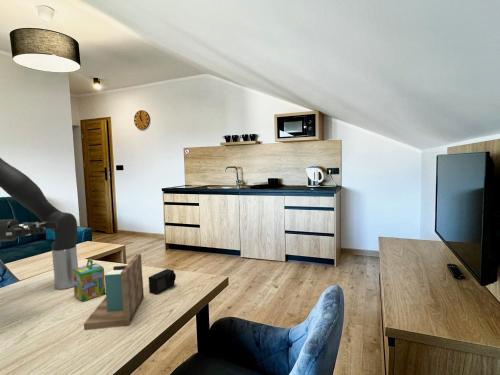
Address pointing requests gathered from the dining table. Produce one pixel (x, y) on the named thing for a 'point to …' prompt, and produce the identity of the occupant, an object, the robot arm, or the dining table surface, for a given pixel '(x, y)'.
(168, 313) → the dining table surface
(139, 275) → the walnut shelf
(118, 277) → the teal hardcover book
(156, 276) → the digital camera
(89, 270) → the chalk box
